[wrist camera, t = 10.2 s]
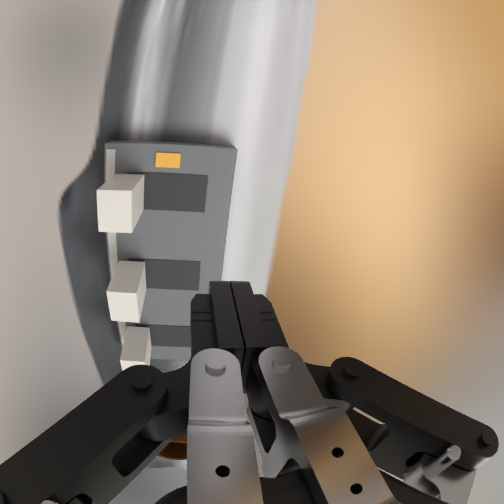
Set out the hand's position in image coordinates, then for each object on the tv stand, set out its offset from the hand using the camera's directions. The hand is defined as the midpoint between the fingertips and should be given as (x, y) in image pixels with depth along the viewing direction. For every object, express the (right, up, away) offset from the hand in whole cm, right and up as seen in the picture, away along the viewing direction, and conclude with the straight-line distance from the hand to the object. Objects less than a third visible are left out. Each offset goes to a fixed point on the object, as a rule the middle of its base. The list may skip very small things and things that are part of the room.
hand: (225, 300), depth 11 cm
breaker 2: (-10, 0, +14) cm, 17 cm away
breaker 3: (-11, -7, +18) cm, 22 cm away
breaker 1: (-9, +7, +11) cm, 15 cm away
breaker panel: (-8, +1, +17) cm, 19 cm away
